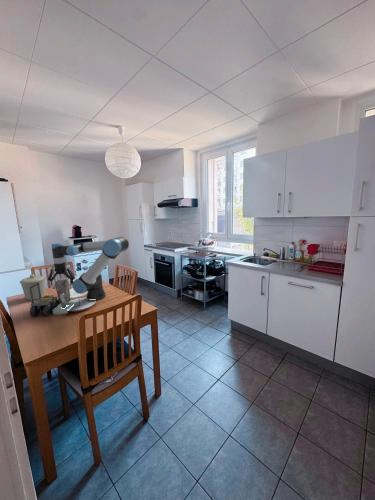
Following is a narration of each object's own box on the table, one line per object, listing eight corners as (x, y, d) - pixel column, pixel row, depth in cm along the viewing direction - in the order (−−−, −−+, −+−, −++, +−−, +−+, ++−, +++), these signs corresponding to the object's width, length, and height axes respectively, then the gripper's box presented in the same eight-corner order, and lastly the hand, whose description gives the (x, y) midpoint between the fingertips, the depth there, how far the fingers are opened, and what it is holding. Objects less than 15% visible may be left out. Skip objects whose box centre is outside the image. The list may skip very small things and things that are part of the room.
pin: (67, 307, 160) (65, 292, 158) (65, 309, 157) (63, 294, 155) (63, 308, 160) (61, 293, 158) (60, 309, 157) (58, 294, 155)
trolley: (60, 307, 164) (56, 280, 160) (48, 317, 148) (43, 287, 144) (44, 308, 163) (39, 281, 159) (30, 318, 148) (25, 288, 144)
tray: (74, 306, 165) (73, 301, 165) (66, 313, 153) (65, 309, 152) (62, 306, 165) (61, 302, 164) (53, 314, 152) (52, 310, 151)
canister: (28, 303, 172) (24, 278, 168) (19, 299, 182) (14, 275, 178) (52, 295, 187) (48, 273, 184) (42, 292, 197) (38, 270, 193)
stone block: (68, 305, 167) (64, 281, 163) (58, 306, 165) (54, 282, 161) (71, 299, 179) (68, 276, 176) (62, 300, 177) (59, 277, 174)
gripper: (77, 260, 170) (80, 285, 174) (45, 262, 169) (49, 287, 173) (73, 263, 163) (76, 289, 167) (39, 264, 161) (43, 290, 165)
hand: (62, 288), depth 170 cm, fingers open, 13 cm apart
